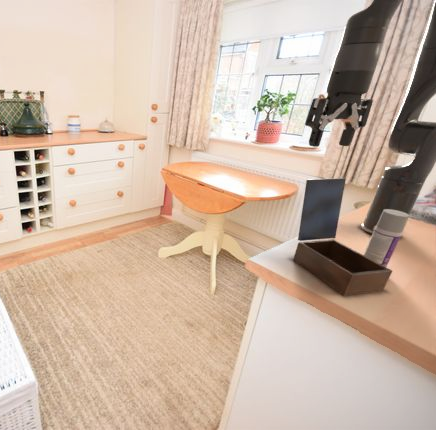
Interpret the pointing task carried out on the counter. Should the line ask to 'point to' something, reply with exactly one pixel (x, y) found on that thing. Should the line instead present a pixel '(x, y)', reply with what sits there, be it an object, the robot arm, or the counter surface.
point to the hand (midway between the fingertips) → (328, 145)
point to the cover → (321, 208)
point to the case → (342, 267)
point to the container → (386, 236)
